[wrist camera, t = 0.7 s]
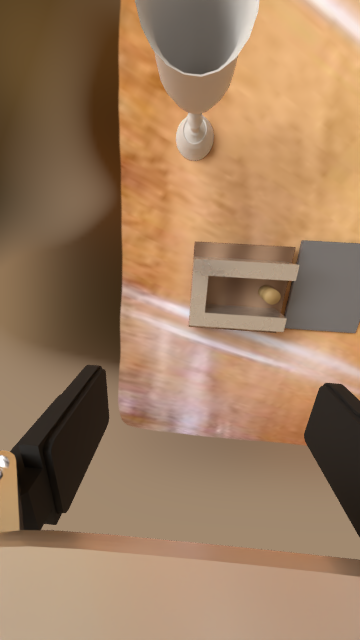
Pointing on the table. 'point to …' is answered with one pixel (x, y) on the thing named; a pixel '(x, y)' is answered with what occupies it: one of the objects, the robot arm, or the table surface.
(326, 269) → the mat
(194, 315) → the c link
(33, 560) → the robot arm
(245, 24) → the chalice
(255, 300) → the stand
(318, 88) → the table surface
